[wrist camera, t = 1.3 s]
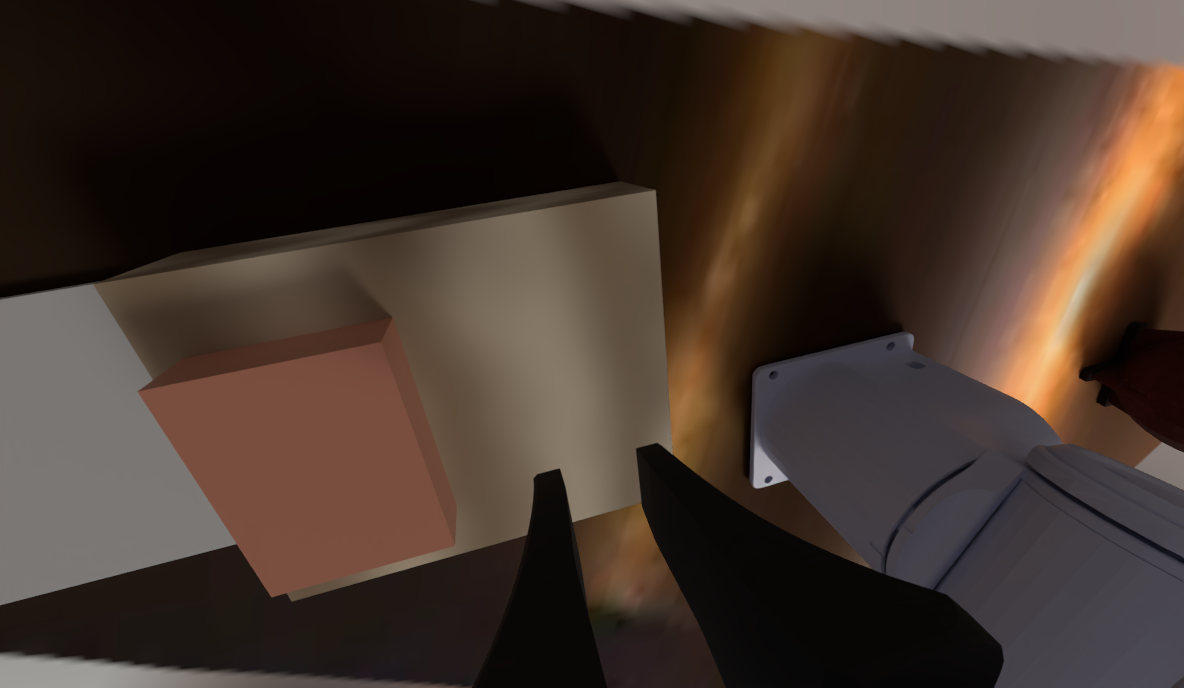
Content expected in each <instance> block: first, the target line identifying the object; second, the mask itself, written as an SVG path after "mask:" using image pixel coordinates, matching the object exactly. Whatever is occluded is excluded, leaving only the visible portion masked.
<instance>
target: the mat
mask: <svg viewBox="0 0 1184 688" xmlns="http://www.w3.org/2000/svg"><path fill="white" fill-rule="evenodd" d="M99 282H101V281H99ZM96 283H98V282H93V283H87V284H81V285H75V286H69V287H63V288H57V289H51V290H45V291H39V292H33V293H27V294H21V295H15V296H9V297H3V298H0V605H2V604H6V603H10V602H14V601H18V600H22V599H25V598H29V597H33V596H37V595H41V594H45V593H49V592H52V591H56V590H60V589H64V588H68V587H72V586H76V585H80V584H83V583H87V582H91V581H95V580H99V579H103V578H107V577H110V576H114V575H118V574H122V573H126V572H130V571H134V570H137V569H141V568H145V567H149V566H153V565H157V564H161V563H164V562H168V561H172V560H176V559H180V558H184V557H188V556H192V555H195V554H199V553H203V552H207V551H211V550H215V549H219V548H222V547H226V546H230V545H234V544H237V543H236V542H235V540H234V539H233V537H232V536H231V534H230V533H229V531H228V530H227V528H226V527H225V525H224V523H223V522H222V520H221V519H220V517H219V516H218V514H217V513H216V511H215V510H214V508H213V507H212V505H211V504H210V502H209V501H208V499H207V497H206V496H205V494H204V493H203V491H202V490H201V488H200V487H199V485H198V484H197V482H196V481H195V479H194V478H193V476H192V474H191V473H190V471H189V470H188V468H187V467H186V465H185V464H184V462H183V461H182V459H181V458H180V456H179V455H178V453H177V451H176V450H175V448H174V447H173V445H172V444H171V442H170V441H169V439H168V438H167V436H166V435H165V433H164V432H163V430H162V428H161V427H160V425H159V424H158V422H157V421H156V419H155V418H154V416H153V415H152V413H151V412H150V410H149V409H148V407H147V405H146V404H145V402H144V401H143V399H142V398H141V396H140V395H139V393H138V392H137V391H139V390H140V389H141V388H143V387H144V386H146V385H147V384H148V383H150V382H151V381H152V380H153V379H152V378H151V376H150V374H149V373H148V371H147V370H146V368H145V366H144V365H143V363H142V362H141V360H140V358H139V357H138V355H137V354H136V352H135V350H134V349H133V347H132V346H131V344H130V343H129V341H128V339H127V338H126V336H125V335H124V333H123V331H122V330H121V328H120V327H119V325H118V323H117V322H116V320H115V319H114V317H113V315H112V314H111V312H110V311H109V309H108V307H107V306H106V304H105V303H104V301H103V299H102V298H101V296H100V295H99V293H98V292H97V290H96V288H95V287H94V285H93V284H96Z"/></svg>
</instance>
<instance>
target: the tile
mask: <svg viewBox="0 0 1184 688" xmlns="http://www.w3.org/2000/svg"><path fill="white" fill-rule="evenodd" d="M137 392H138V393H139V395H140V396H141V398H142V399H143V401H144V402H145V404H146V405H147V407H148V409H149V410H150V412H151V413H152V415H153V416H154V418H155V419H156V421H157V422H158V424H159V425H160V427H161V428H162V430H163V432H164V433H165V435H166V436H167V438H168V439H169V441H170V442H171V444H172V445H173V447H174V448H175V450H176V451H177V453H178V455H179V456H180V458H181V459H182V461H183V462H184V464H185V465H186V467H187V468H188V470H189V471H190V473H191V474H192V476H193V478H194V479H195V481H196V482H197V484H198V485H199V487H200V488H201V490H202V491H203V493H204V494H205V496H206V497H207V499H208V501H209V502H210V504H211V505H212V507H213V508H214V510H215V511H216V513H217V514H218V516H219V517H220V519H221V520H222V522H223V523H224V525H225V527H226V528H227V530H228V531H229V533H230V534H231V536H232V537H233V539H234V540H235V542H236V543H237V545H238V546H239V548H240V550H241V551H242V553H243V554H244V556H245V557H246V559H247V560H248V562H249V563H250V565H251V566H252V568H253V569H254V571H255V573H256V574H257V576H258V577H259V579H260V580H261V582H262V583H263V585H264V586H265V588H266V589H267V591H268V592H269V594H270V596H271V597H274V596H277V595H281V594H285V593H288V592H292V591H295V590H299V589H302V588H306V587H310V586H313V585H317V584H320V583H324V582H328V581H331V580H335V579H338V578H342V577H345V576H349V575H353V574H356V573H360V572H363V571H367V570H371V569H374V568H378V567H381V566H385V565H388V564H392V563H396V562H399V561H403V560H406V559H410V558H414V557H417V556H421V555H424V554H428V553H431V552H435V551H439V550H442V549H446V548H449V547H453V546H455V537H456V515H457V504H456V501H455V498H454V495H453V493H452V490H451V487H450V484H449V481H448V478H447V475H446V472H445V469H444V466H443V463H442V460H441V457H440V454H439V452H438V449H437V446H436V443H435V440H434V437H433V434H432V431H431V428H430V425H429V422H428V419H427V416H426V413H425V411H424V408H423V405H422V402H421V399H420V396H419V393H418V390H417V387H416V384H415V381H414V378H413V375H412V373H411V370H410V367H409V364H408V361H407V358H406V355H405V352H404V349H403V346H402V343H401V340H400V337H399V334H398V332H397V329H396V326H395V323H394V320H393V317H392V318H387V319H382V320H377V321H372V322H367V323H362V324H357V325H351V326H346V327H341V328H336V329H331V330H326V331H321V332H316V333H311V334H306V335H300V336H295V337H290V338H285V339H280V340H275V341H270V342H265V343H260V344H254V345H249V346H244V347H239V348H234V349H229V350H224V351H219V352H214V353H208V354H203V355H198V356H193V357H188V358H183V359H181V360H180V361H178V362H177V363H176V364H174V365H173V366H172V367H170V368H169V369H167V370H166V371H165V372H163V373H162V374H161V375H159V376H158V377H156V378H155V379H154V380H152V381H151V382H150V383H148V384H147V385H146V386H144V387H143V388H141V389H140V390H139V391H137Z"/></svg>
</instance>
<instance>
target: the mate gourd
mask: <svg viewBox="0 0 1184 688" xmlns="http://www.w3.org/2000/svg"><path fill="white" fill-rule="evenodd" d="M1146 325H1147V323H1142V322H1137V321H1136V322H1133V323H1130V324H1129V326H1128V328H1127V330H1126V332H1125V334H1124V337H1123V339H1122V342H1121V344H1120V346H1119V349H1118V351H1117V353H1116V356H1115V358H1114V359H1113V360H1111V361H1108V362H1104V363H1101V364H1097V365H1094V366H1090V367H1087V368H1084V369H1083V370H1082V371H1081V374H1080V376H1079V378H1080V379H1082V380H1084V381H1086V382H1087V381H1092V380H1096V381H1099V382H1101V383H1103V384H1104V385H1103V388H1102V390H1101V392H1100V395H1099V397H1098V400H1097V403H1099V404H1101V405H1103V406H1104V407H1107V406H1110V405H1114V406H1115V407H1117V408H1119V409H1120V410H1122V411H1123V412H1125V413H1126V414H1128V415H1129V416H1130V417H1131V418H1132V419H1133V420H1134V421H1135V422H1136V423H1137V424H1138V425H1140V426H1141V427H1142V428H1143V429H1144V430H1145V431H1147V432H1148V433H1150V434H1151V435H1152V436H1154V437H1155V438H1157V439H1158V440H1160V441H1161V442H1163V443H1165V444H1167V445H1169V446H1171V447H1173V448H1175V449H1177V450H1179V451H1182V452H1184V332H1183V331H1169V330H1155V329H1146Z"/></svg>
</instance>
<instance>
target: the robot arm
mask: <svg viewBox="0 0 1184 688" xmlns="http://www.w3.org/2000/svg"><path fill="white" fill-rule="evenodd" d="M913 342H914V337H913V335H912V334H910V333H908V332H899V333H895V334H891V335H887V336H883V337H879V338H875V339H870V340H866V341H862V342H858V343H854V344H850V345H846V346H842V347H837V348H833V349H829V350H825V351H821V352H817V353H813V354H809V355H804V356H800V357H796V358H792V359H788V360H784V361H780V362H776V363H771V364H767V365H763V366H760V367H758V368H757V369H756V370H755V371H754V373H753V376H752V409H751V444H750V479H749V480H750V483H751V484H752V486H753V487H754V488H762V487H765V486H768V485H772V484H775V483H779V482H782V481H786V480H790V482H791V483H792V484H793V485H794V486H795V487H796V488H797V489H798V490H799V491H800V492H801V493H802V494H803V495H804V496H805V497H806V499H807V500H808V501H809V502H810V503H811V504H812V505H813V506H814V507H815V508H816V509H817V510H818V511H819V512H820V513H821V514H822V516H823V517H824V518H825V519H826V520H827V521H828V522H829V523H830V524H831V525H832V526H833V527H834V528H835V529H836V530H837V531H838V533H839V534H840V535H841V536H842V537H843V538H844V539H845V540H846V541H847V542H848V543H849V544H850V545H851V546H852V547H853V548H854V550H855V551H856V552H857V553H858V554H859V555H860V556H861V557H862V558H863V559H864V560H865V561H866V562H867V563H868V564H869V565H870V567H871V568H872V569H873V570H872V569H870V568H867V567H865V566H862V565H859V564H857V563H854V562H852V561H849V560H847V559H844V558H842V557H840V556H837V555H835V554H833V553H830V552H828V551H826V550H824V549H822V548H819V547H817V546H815V545H813V544H811V543H809V542H806V541H804V540H802V539H800V538H798V537H796V536H794V535H792V534H790V533H788V532H786V531H784V530H782V529H781V528H779V527H777V526H775V525H773V524H771V523H770V522H768V521H766V520H764V519H763V518H761V517H759V516H758V515H756V514H754V513H753V512H751V511H749V510H748V509H746V508H745V507H743V506H742V505H740V504H739V503H737V502H735V501H734V500H732V499H731V498H729V497H728V496H727V495H725V494H724V493H722V492H721V491H719V490H718V489H717V488H715V487H714V486H712V485H711V484H710V483H708V482H707V481H706V480H704V479H703V478H701V477H700V476H699V475H698V474H696V473H695V472H694V471H692V470H691V469H690V468H689V467H687V466H686V465H685V464H683V463H682V462H681V461H680V460H679V459H677V458H676V457H675V456H674V455H672V454H671V453H670V452H669V451H668V450H666V449H665V448H664V447H663V446H662V445H660V444H659V443H654V444H650V445H647V446H643V447H639V448H636V456H637V465H638V474H639V484H640V493H641V502H642V507H643V510H644V513H645V515H646V518H647V521H648V523H649V526H650V528H651V531H652V533H653V536H654V539H655V541H656V543H657V545H658V547H659V549H660V551H661V553H662V555H663V557H664V558H665V560H666V562H667V564H668V566H669V568H670V570H671V572H672V574H673V576H674V578H675V579H676V581H677V583H678V585H679V587H680V589H681V591H682V593H683V595H684V597H685V598H686V600H687V602H688V604H689V606H690V608H691V610H692V612H693V614H694V616H695V617H696V619H697V622H698V624H699V626H700V628H701V630H702V632H703V634H704V636H705V638H706V641H707V643H708V645H709V648H710V650H711V653H712V655H713V657H714V660H715V662H716V665H717V667H718V669H719V672H720V674H721V677H722V679H723V682H724V684H725V686H726V688H1184V490H1182V489H1179V488H1177V487H1175V486H1173V485H1171V484H1168V483H1166V482H1164V481H1162V480H1160V479H1158V478H1155V477H1153V476H1151V475H1149V474H1147V473H1144V472H1142V471H1139V470H1137V469H1135V468H1133V467H1131V466H1128V465H1126V464H1124V463H1121V462H1119V461H1116V460H1114V459H1112V458H1109V457H1107V456H1104V455H1102V454H1099V453H1097V452H1094V451H1091V450H1089V449H1086V448H1083V447H1080V446H1077V445H1073V444H1063V443H1062V441H1061V440H1060V438H1059V437H1058V435H1057V434H1056V433H1055V431H1054V430H1053V429H1052V428H1051V427H1050V425H1049V424H1048V423H1047V422H1046V421H1045V420H1044V419H1043V418H1042V417H1041V416H1040V415H1038V414H1037V413H1036V412H1035V411H1034V410H1033V409H1031V408H1030V407H1028V406H1027V405H1025V404H1024V403H1022V402H1020V401H1019V400H1017V399H1015V398H1013V397H1011V396H1009V395H1007V394H1005V393H1002V392H1000V391H998V390H996V389H994V388H992V387H990V386H987V385H985V384H983V383H981V382H979V381H977V380H975V379H972V378H970V377H968V376H966V375H964V374H962V373H960V372H958V371H955V370H953V369H951V368H949V367H947V366H945V365H943V364H940V363H938V362H936V361H934V360H932V359H930V358H928V357H925V356H923V355H921V354H919V353H917V352H915V351H913V350H912V347H913ZM772 371H774V372H773V374H772V375H771V376H769V375H770V373H771V372H772ZM766 477H767V478H766ZM533 481H534V494H533V504H532V512H531V518H530V523H529V528H528V534H527V539H526V543H525V548H524V551H523V555H522V559H521V563H520V566H519V570H518V574H517V577H516V580H515V584H514V587H513V590H512V593H511V596H510V599H509V602H508V605H507V607H506V610H505V613H504V616H503V618H502V621H501V623H500V626H499V628H498V631H497V633H496V636H495V638H494V641H493V643H492V646H491V648H490V651H489V653H488V655H487V657H486V660H485V662H484V664H483V666H482V668H481V670H480V673H479V675H478V677H477V679H476V681H475V683H474V685H473V687H472V688H607V686H606V682H605V678H604V674H603V670H602V666H601V662H600V659H599V655H598V651H597V647H596V643H595V639H594V635H593V631H592V627H591V623H590V619H589V614H588V608H587V601H586V595H585V588H584V582H583V575H582V568H581V562H580V557H579V552H578V547H577V542H576V537H575V532H574V527H573V522H572V517H571V512H570V507H569V502H568V497H567V492H566V487H565V483H564V480H563V477H562V473H561V470H560V468H559V469H555V470H551V471H547V472H543V473H540V474H537V475H536V476H535V477H534V479H533Z"/></svg>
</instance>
